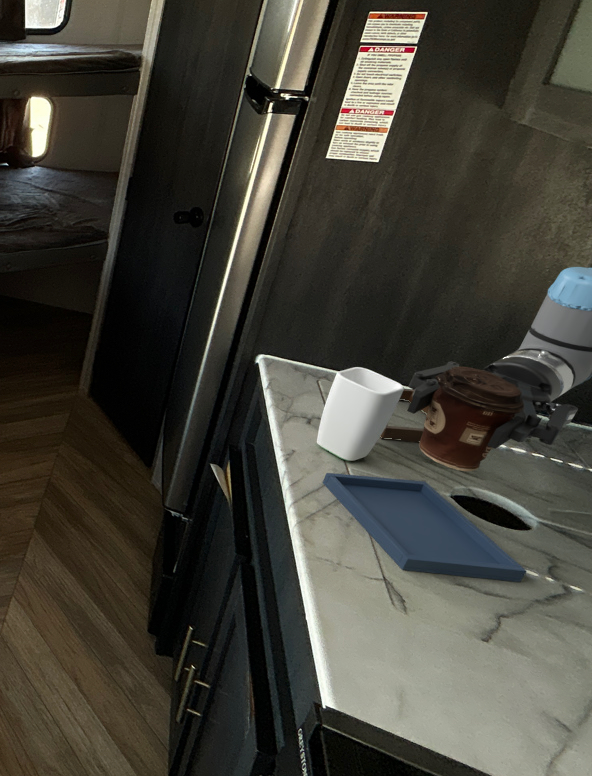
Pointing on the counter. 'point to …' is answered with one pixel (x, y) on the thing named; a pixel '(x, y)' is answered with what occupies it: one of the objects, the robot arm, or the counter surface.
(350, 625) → the counter surface
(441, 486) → the counter surface
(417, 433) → the brown picture frame
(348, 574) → the counter surface
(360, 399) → the cup
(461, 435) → the coffee cup
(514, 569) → the tray
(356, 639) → the counter surface
